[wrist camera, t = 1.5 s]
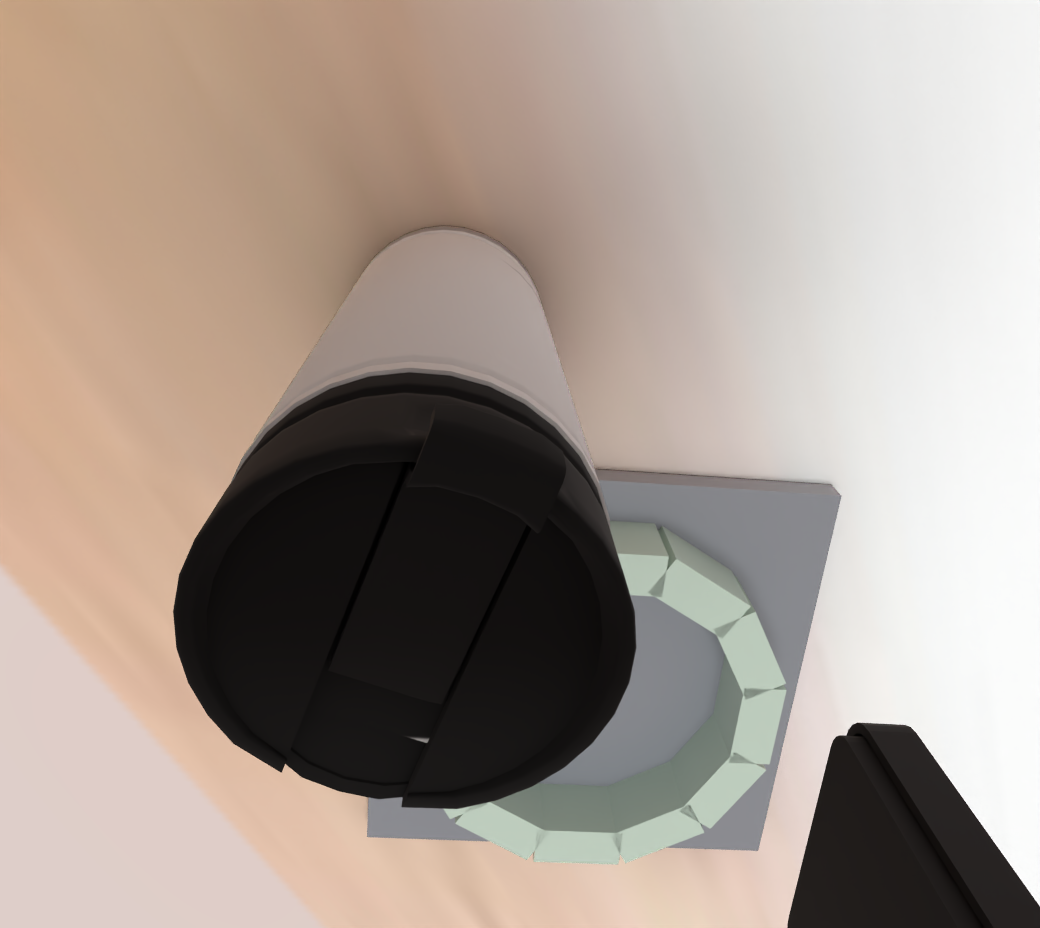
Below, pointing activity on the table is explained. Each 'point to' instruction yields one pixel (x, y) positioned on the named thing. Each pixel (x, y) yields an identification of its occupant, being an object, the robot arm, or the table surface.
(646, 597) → the cup dock
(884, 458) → the table surface
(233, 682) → the travel mug
